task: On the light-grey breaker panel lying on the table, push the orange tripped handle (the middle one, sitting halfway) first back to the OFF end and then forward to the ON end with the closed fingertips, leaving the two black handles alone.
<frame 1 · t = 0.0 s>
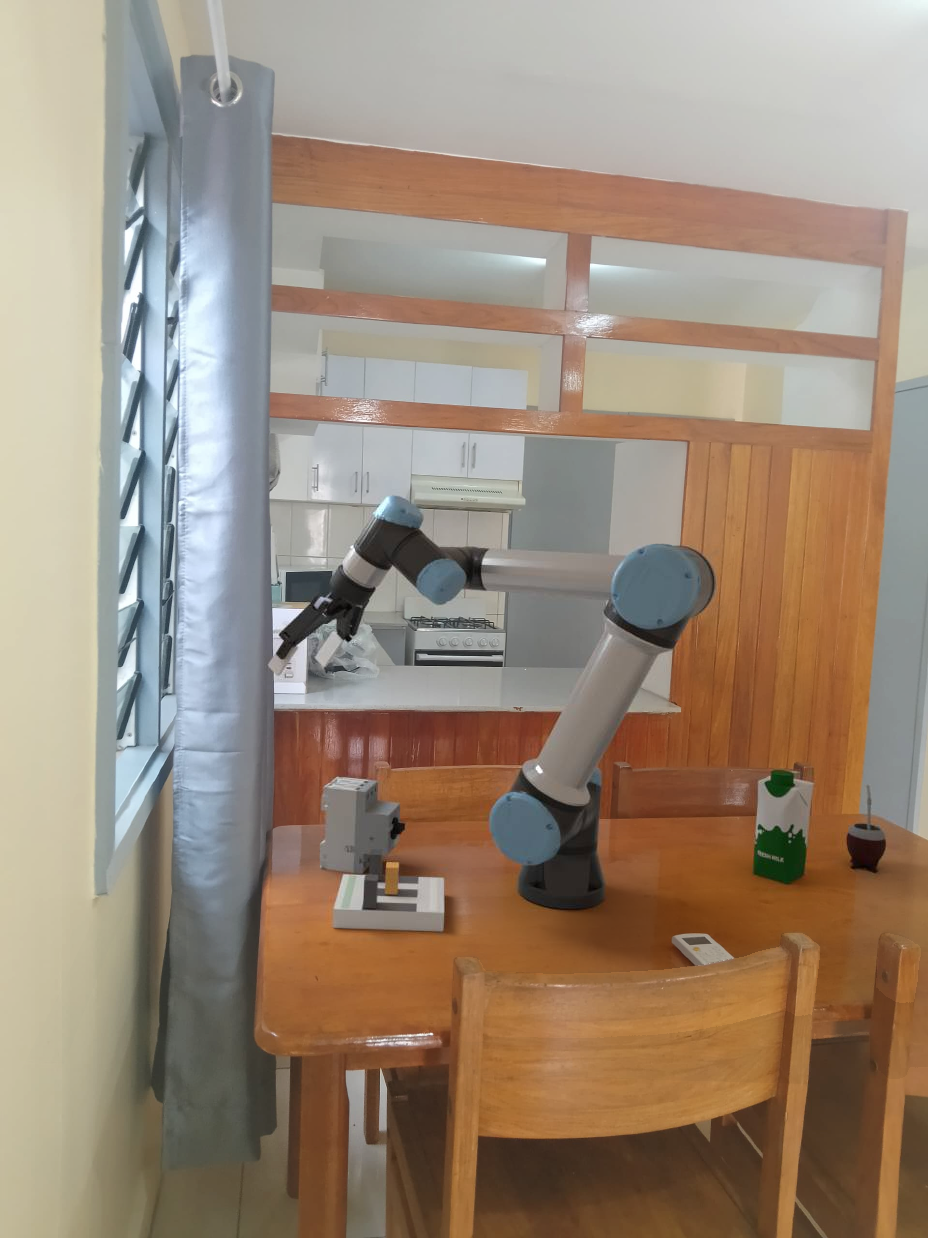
hand: (297, 666, 161), 36 cm above the table, tool tilted 35°, fingers open, 13 cm apart
mate gourd: (862, 867, 175), on the table
breaker a: (375, 865, 149), point 5 cm above the table, slide at 3.0 cm
breaker tripped: (392, 878, 144), point 5 cm above the table, slide at 0.0 cm
milk carton: (778, 875, 168), on the table
panel: (390, 910, 144), on the table
circuit breaker: (363, 867, 163), on the table
breaker c: (370, 891, 138), point 5 cm above the table, slide at 3.0 cm
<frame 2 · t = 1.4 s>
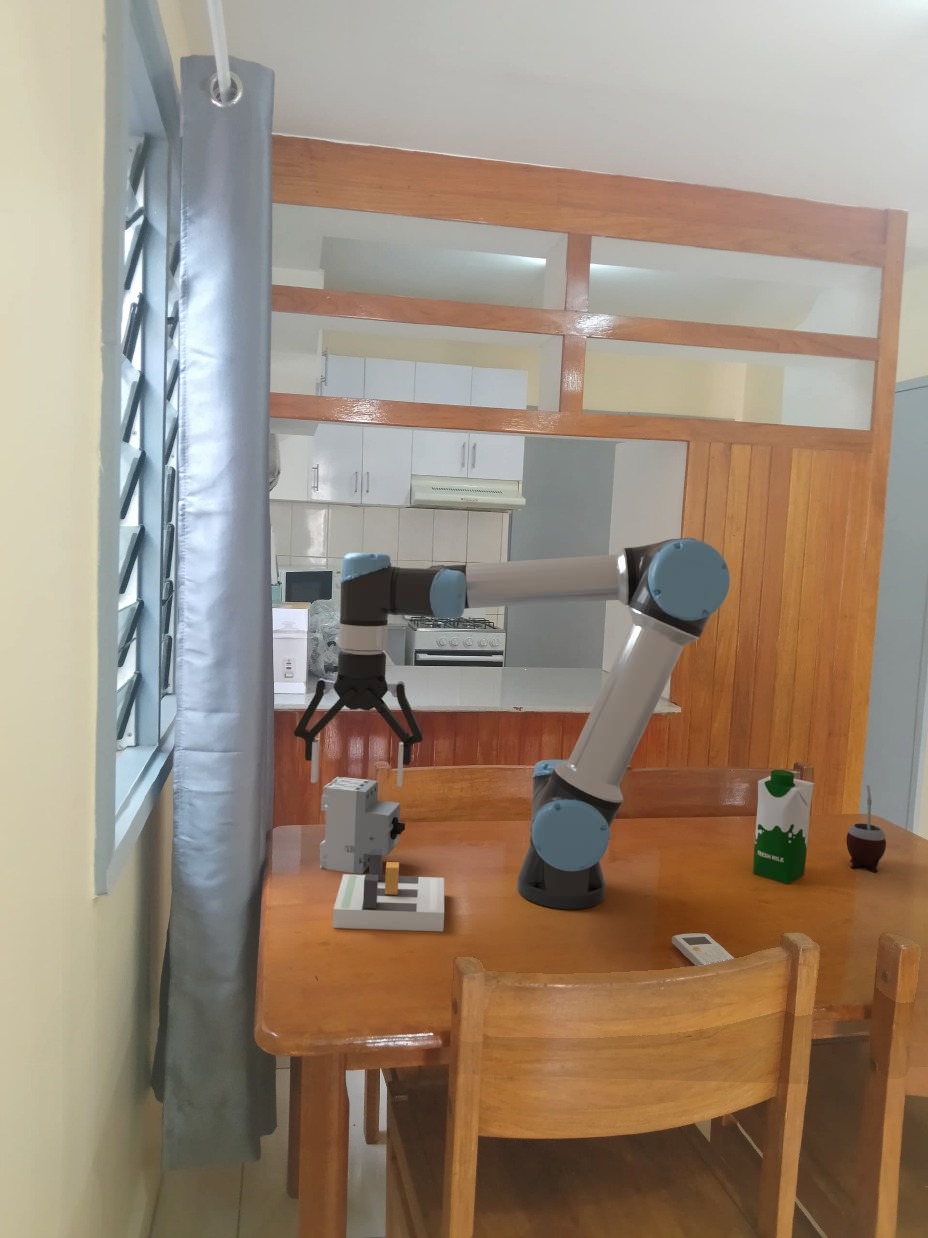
hand: (357, 782, 142), 21 cm above the table, tool pointing down, fingers open, 13 cm apart
nothing on the table moved.
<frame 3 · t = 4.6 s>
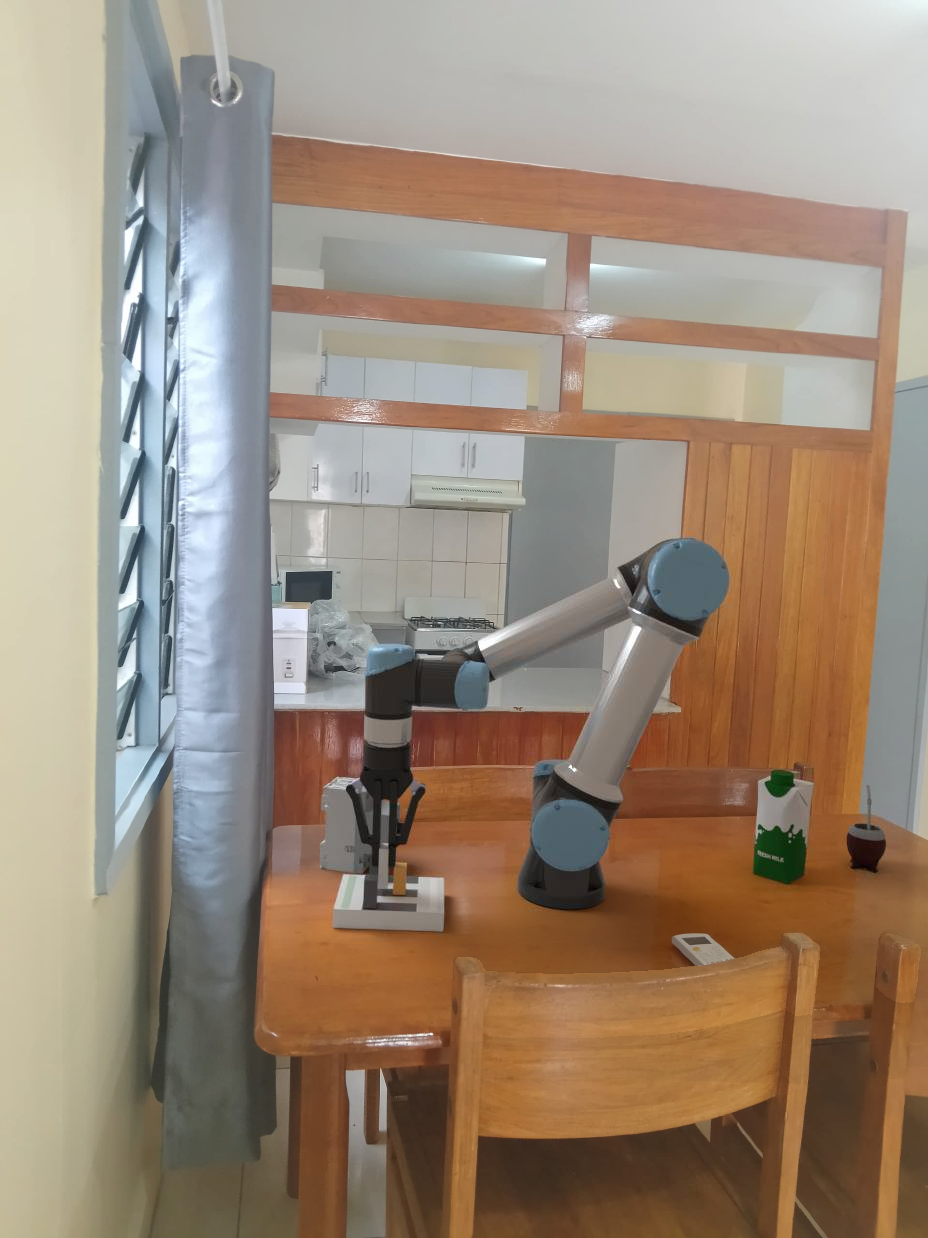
hand: (383, 885, 144), 4 cm above the table, tool pointing down, fingers closed
breaker tripped: (399, 878, 144), point 5 cm above the table, slide at -1.3 cm, touching gripper
everything else where it was.
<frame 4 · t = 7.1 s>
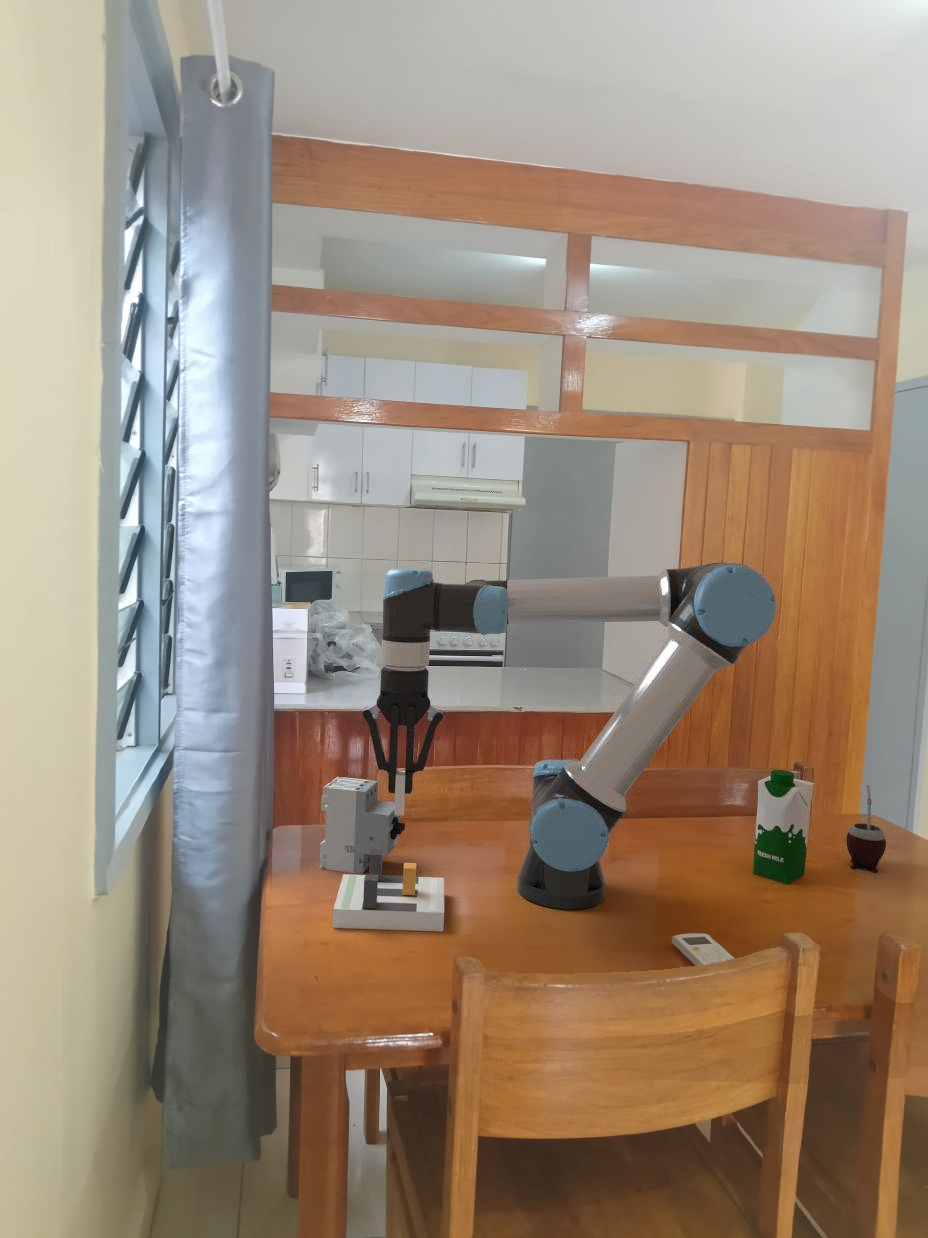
hand: (399, 812, 143), 16 cm above the table, tool pointing down, fingers closed
breaker tripped: (409, 879, 144), point 5 cm above the table, slide at -2.8 cm
everything else where it was.
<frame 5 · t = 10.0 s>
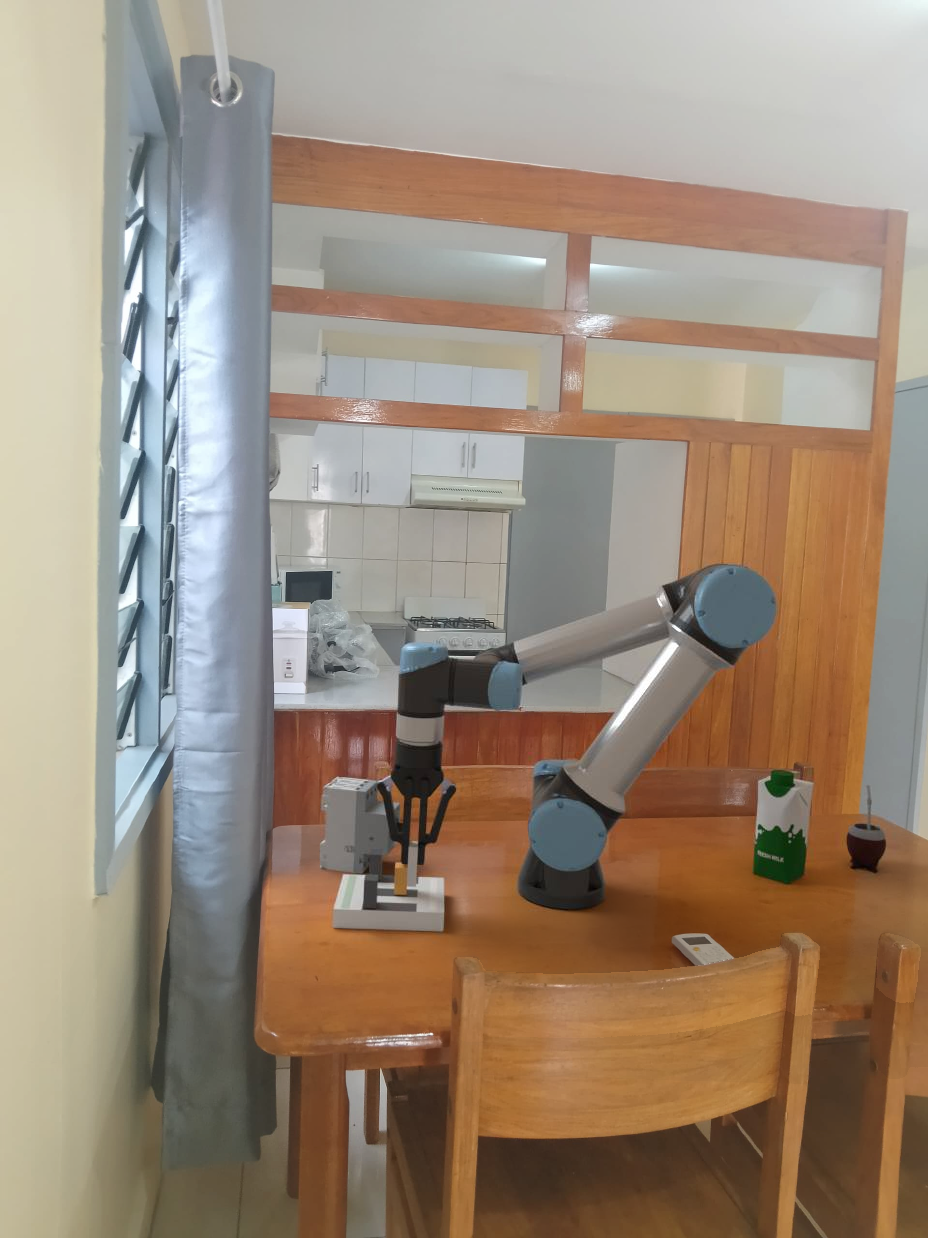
hand: (411, 883, 144), 5 cm above the table, tool pointing down, fingers closed
breaker tripped: (400, 878, 144), point 5 cm above the table, slide at -1.4 cm, touching gripper
everything else where it was.
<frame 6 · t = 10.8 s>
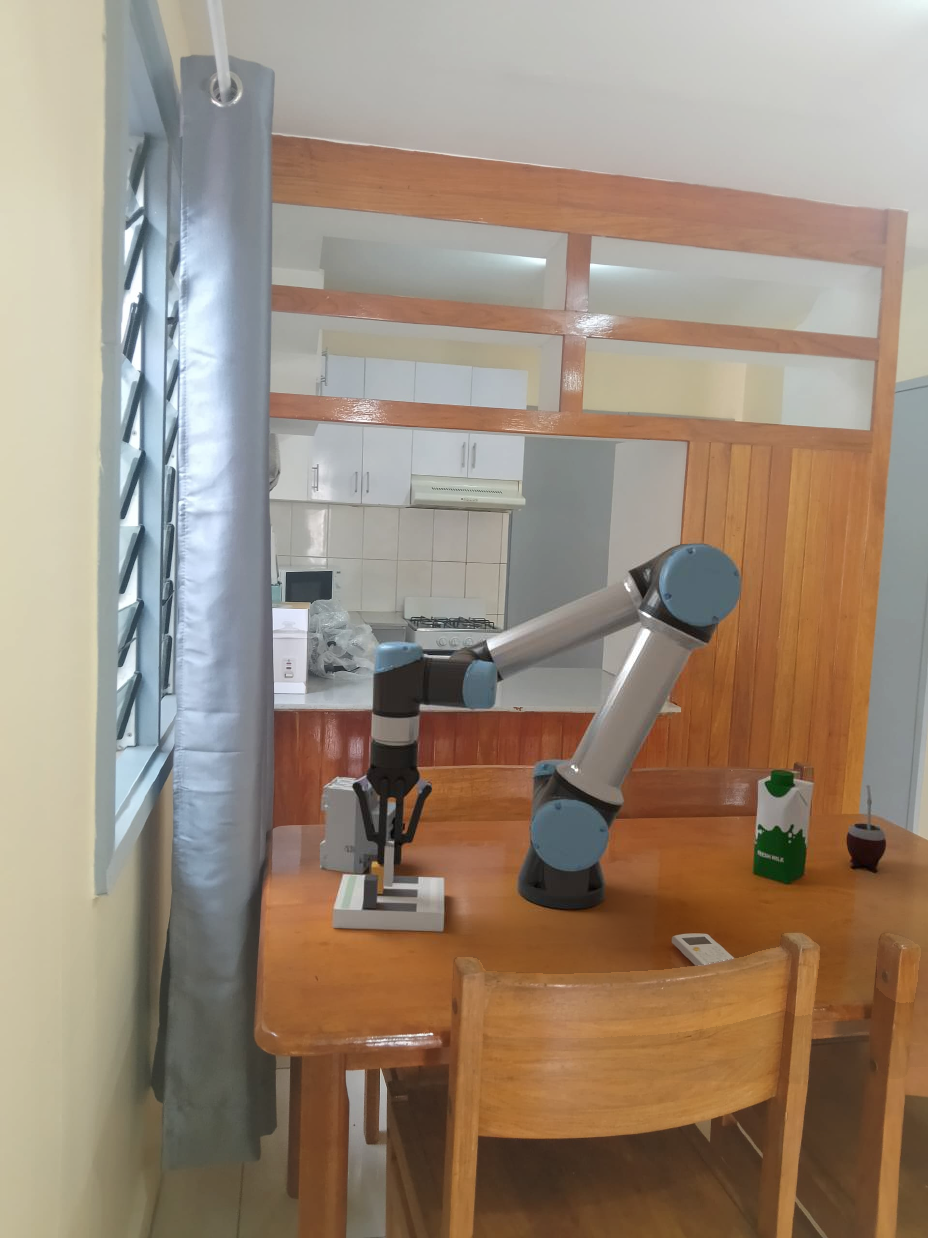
hand: (388, 883, 144), 5 cm above the table, tool pointing down, fingers closed
breaker tripped: (377, 877, 143), point 5 cm above the table, slide at 2.3 cm, touching gripper
everything else where it was.
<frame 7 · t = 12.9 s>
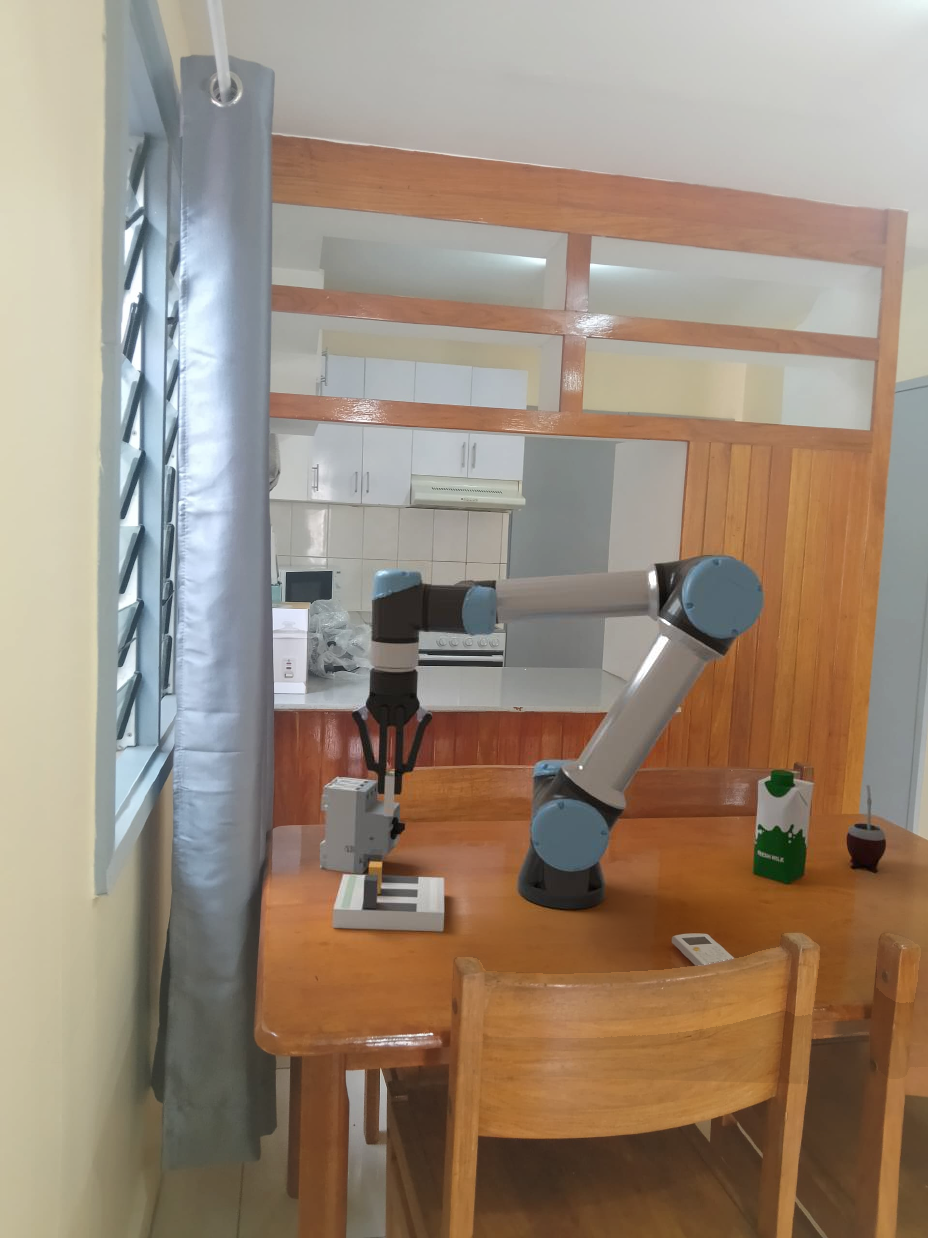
hand: (388, 813, 142), 16 cm above the table, tool pointing down, fingers closed
breaker tripped: (375, 877, 143), point 5 cm above the table, slide at 2.7 cm
everything else where it was.
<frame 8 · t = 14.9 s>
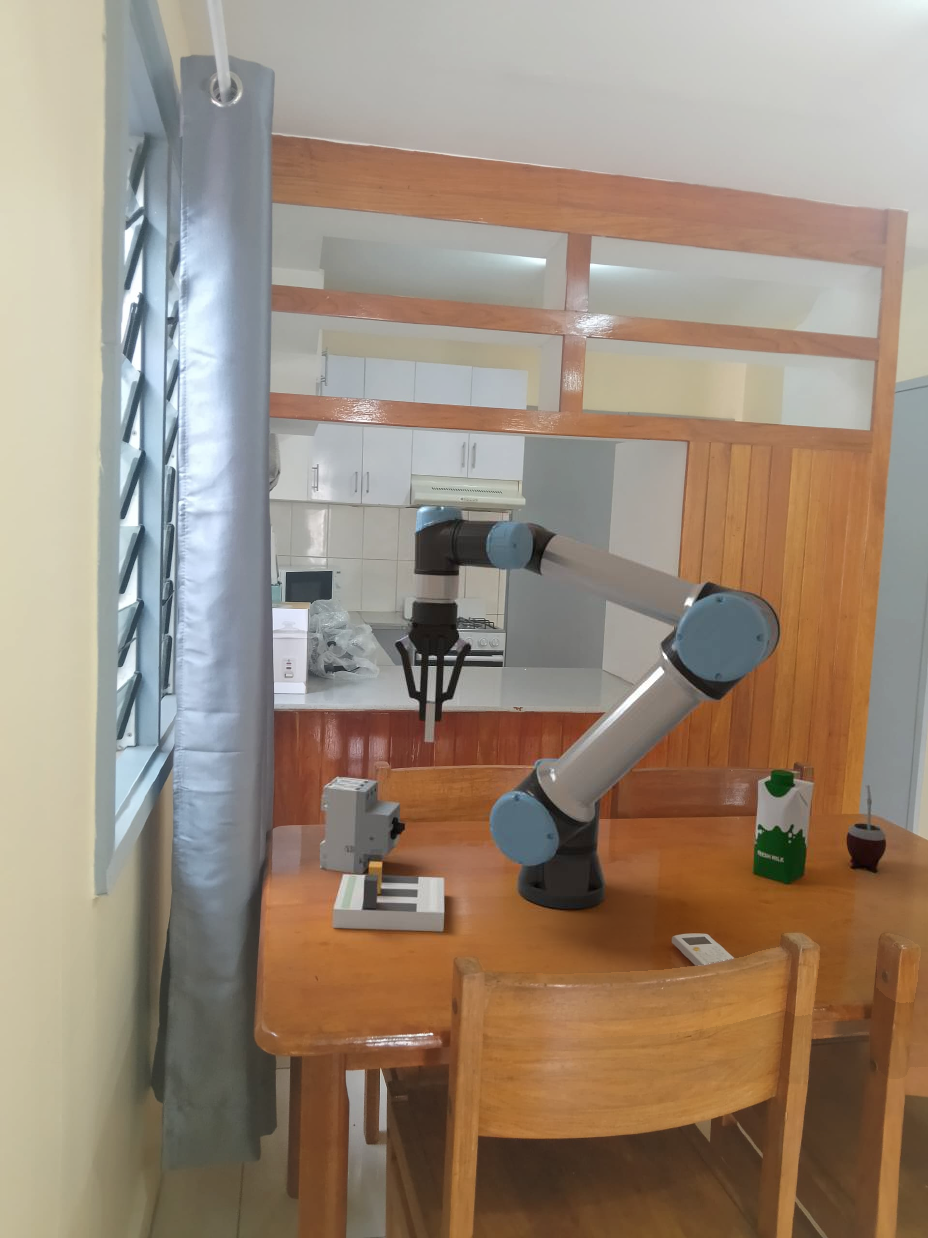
hand: (429, 740, 150), 26 cm above the table, tool pointing down, fingers closed
nothing on the table moved.
at the end: breaker tripped slide at 2.7 cm; breaker a slide at 3.0 cm; breaker c slide at 3.0 cm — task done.
